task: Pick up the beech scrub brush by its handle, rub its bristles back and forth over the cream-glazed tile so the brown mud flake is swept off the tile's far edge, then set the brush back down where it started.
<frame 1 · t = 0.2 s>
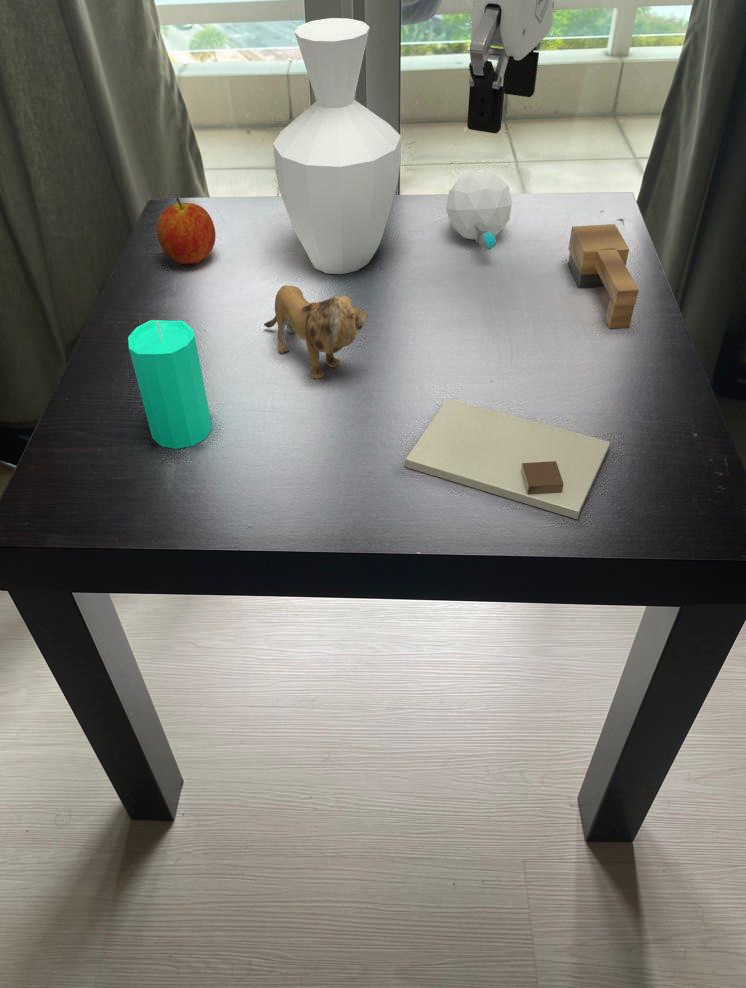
hand: (501, 111, 83), 20 cm above the table, tool pointing down, fingers open, 9 cm apart
candle: (182, 430, 82), on the table
fruit: (191, 261, 105), on the table
vase: (342, 259, 104), on the table
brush: (592, 274, 99), on the table
tile: (507, 458, 77), on the table
perfume bottle: (478, 244, 105), on the table
lion figurine: (314, 358, 90), on the table
mud flake: (541, 481, 74), point 1 cm above the table, touching tile
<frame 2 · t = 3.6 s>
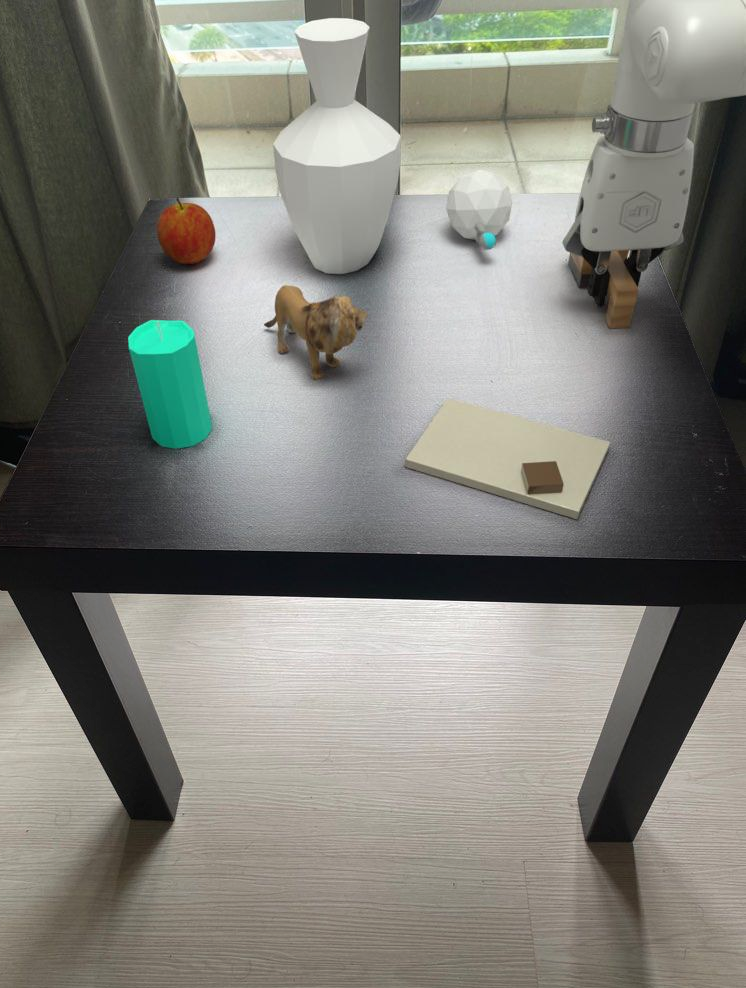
hand: (610, 298, 93), 1 cm above the table, tool pointing down, fingers closed on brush
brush: (592, 274, 99), on the table, touching gripper
everything else where it was.
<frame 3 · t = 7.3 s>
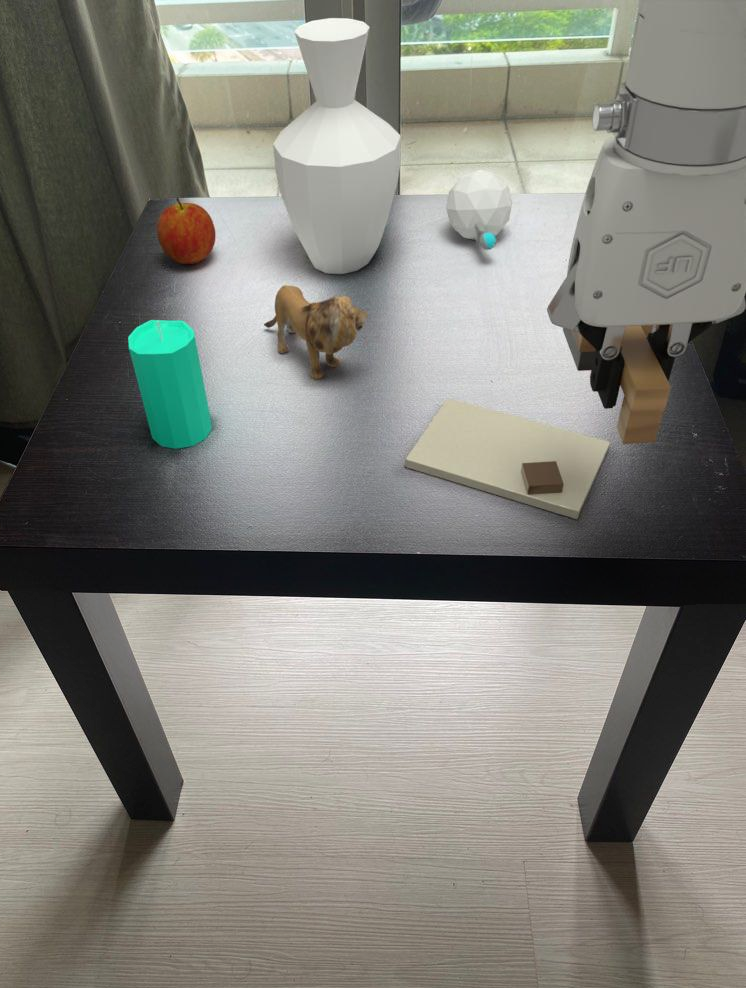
hand: (625, 393, 59), 15 cm above the table, tool pointing down, fingers closed on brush
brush: (599, 348, 65), point 14 cm above the table, touching gripper
everything else where it was.
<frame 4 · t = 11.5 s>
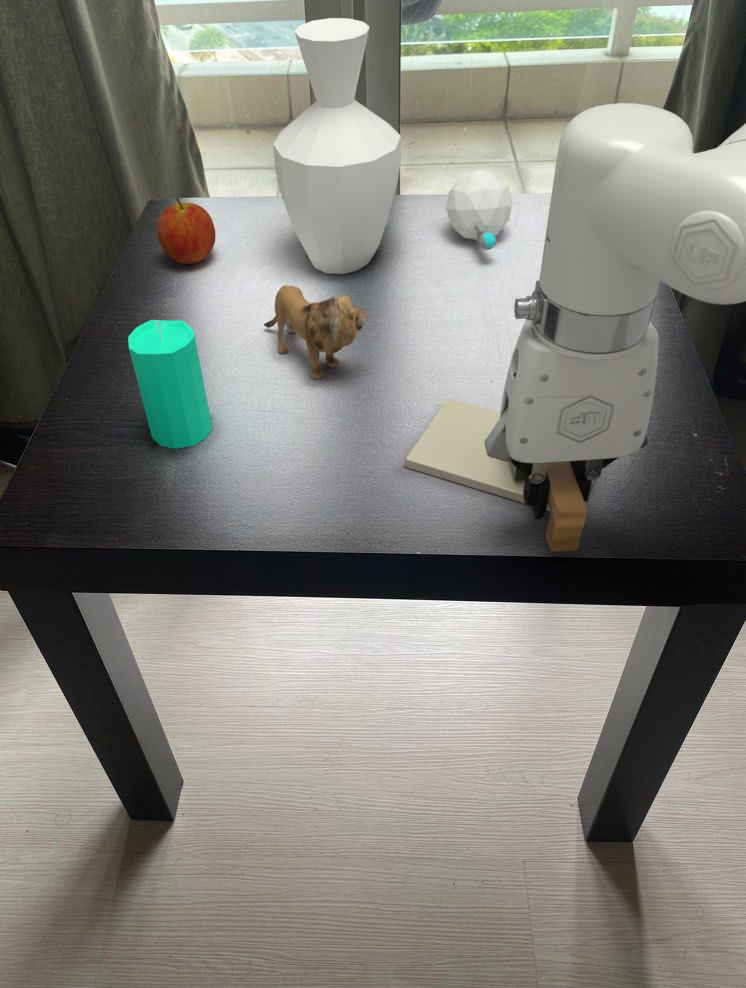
hand: (553, 505, 70), 2 cm above the table, tool pointing down, fingers closed on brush
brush: (533, 458, 75), point 1 cm above the table, touching gripper
mud flake: (524, 429, 79), point 1 cm above the table, touching tile
everything else where it was.
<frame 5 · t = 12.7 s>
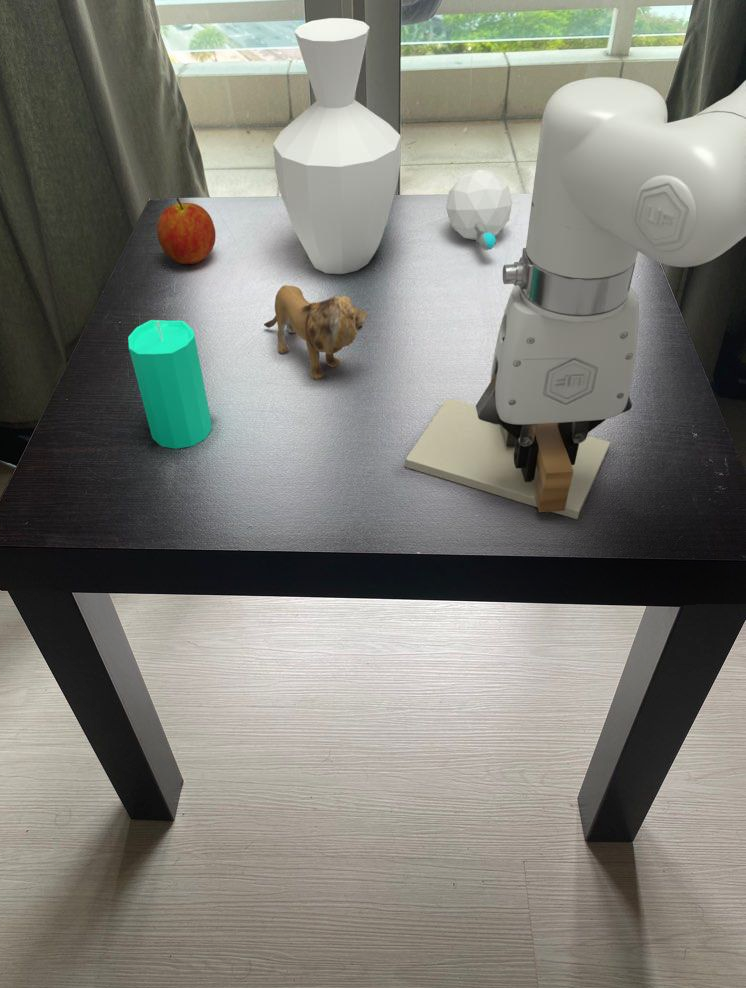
hand: (542, 468, 73), 2 cm above the table, tool pointing down, fingers closed on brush
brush: (525, 426, 79), point 1 cm above the table, touching gripper
mud flake: (516, 409, 82), on the table
everything else where it was.
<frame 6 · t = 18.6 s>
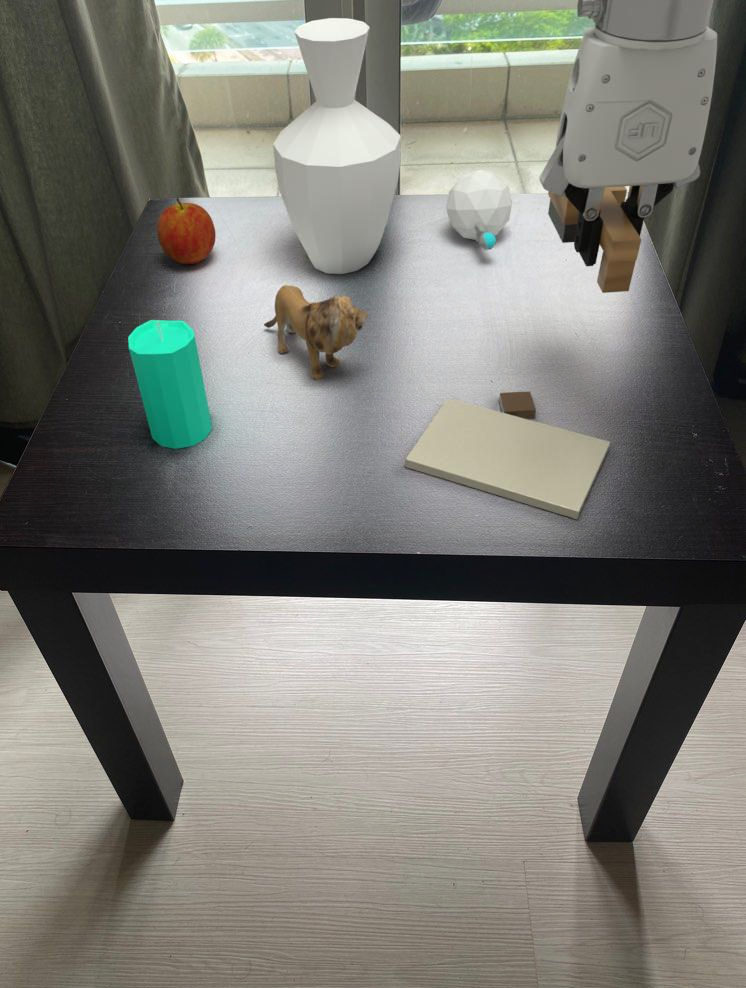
hand: (603, 255, 71), 15 cm above the table, tool pointing down, fingers closed on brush
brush: (579, 226, 77), point 15 cm above the table, touching gripper
everything else where it was.
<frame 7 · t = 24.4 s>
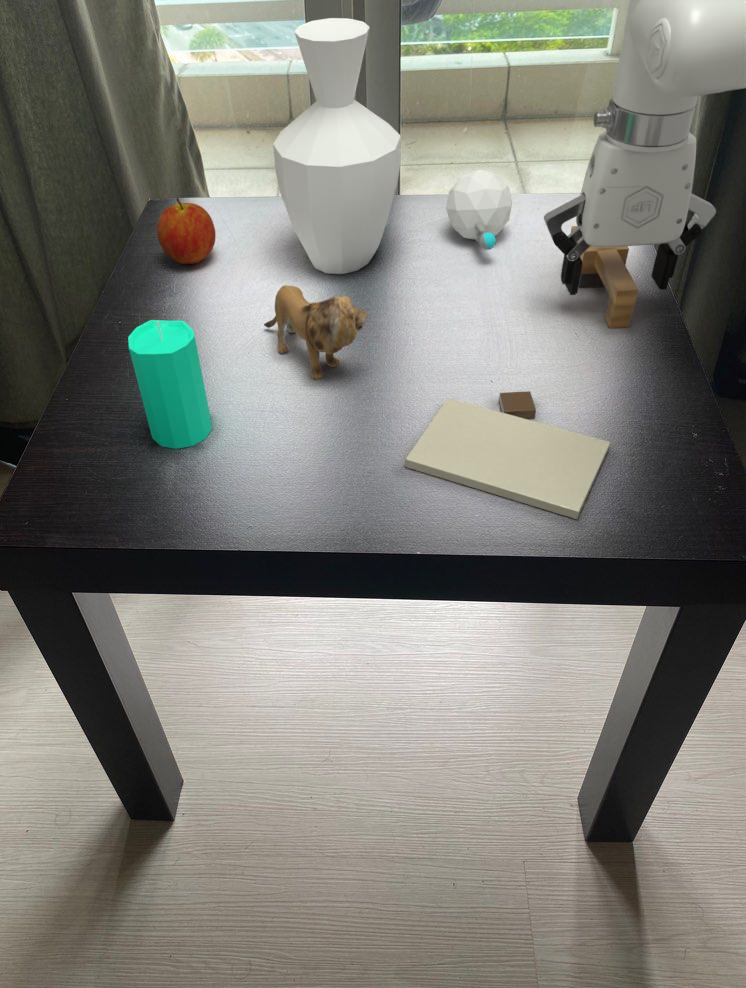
hand: (614, 286, 92), 3 cm above the table, tool pointing down, fingers open, 9 cm apart
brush: (592, 274, 99), on the table
everything else where it was.
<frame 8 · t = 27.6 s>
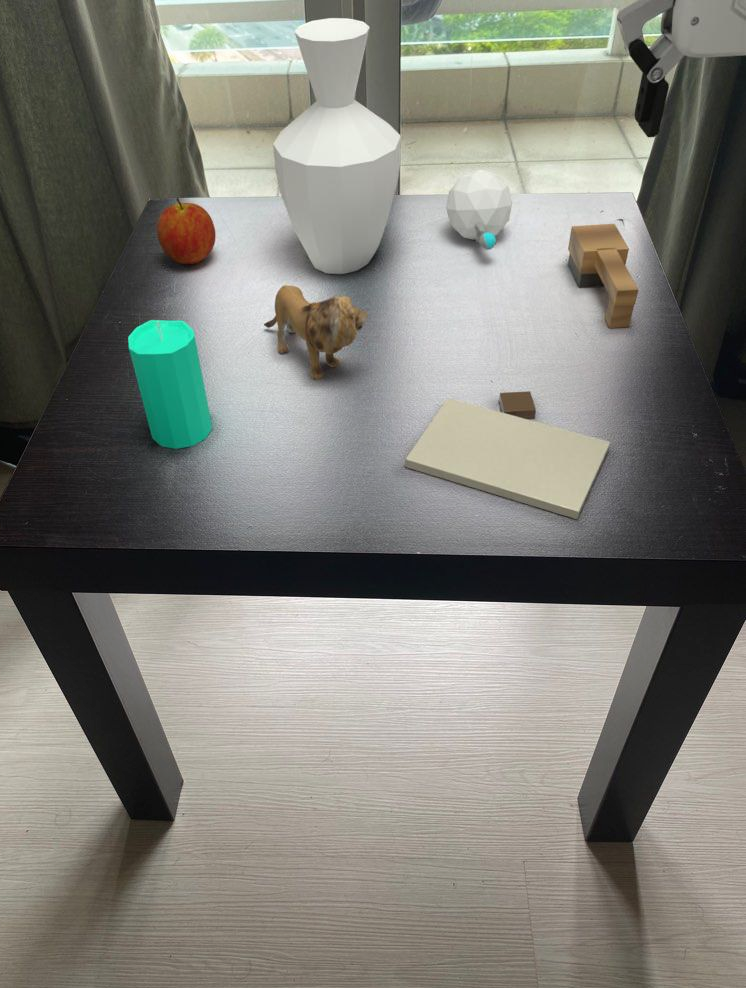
hand: (707, 127, 67), 24 cm above the table, tool pointing down, fingers open, 9 cm apart
nothing on the table moved.
at the end: mud flake inside the target area (6.7 cm from its centre), on the table; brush inside the target area (0.1 cm from its centre), on the table; the gripper is holding nothing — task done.
